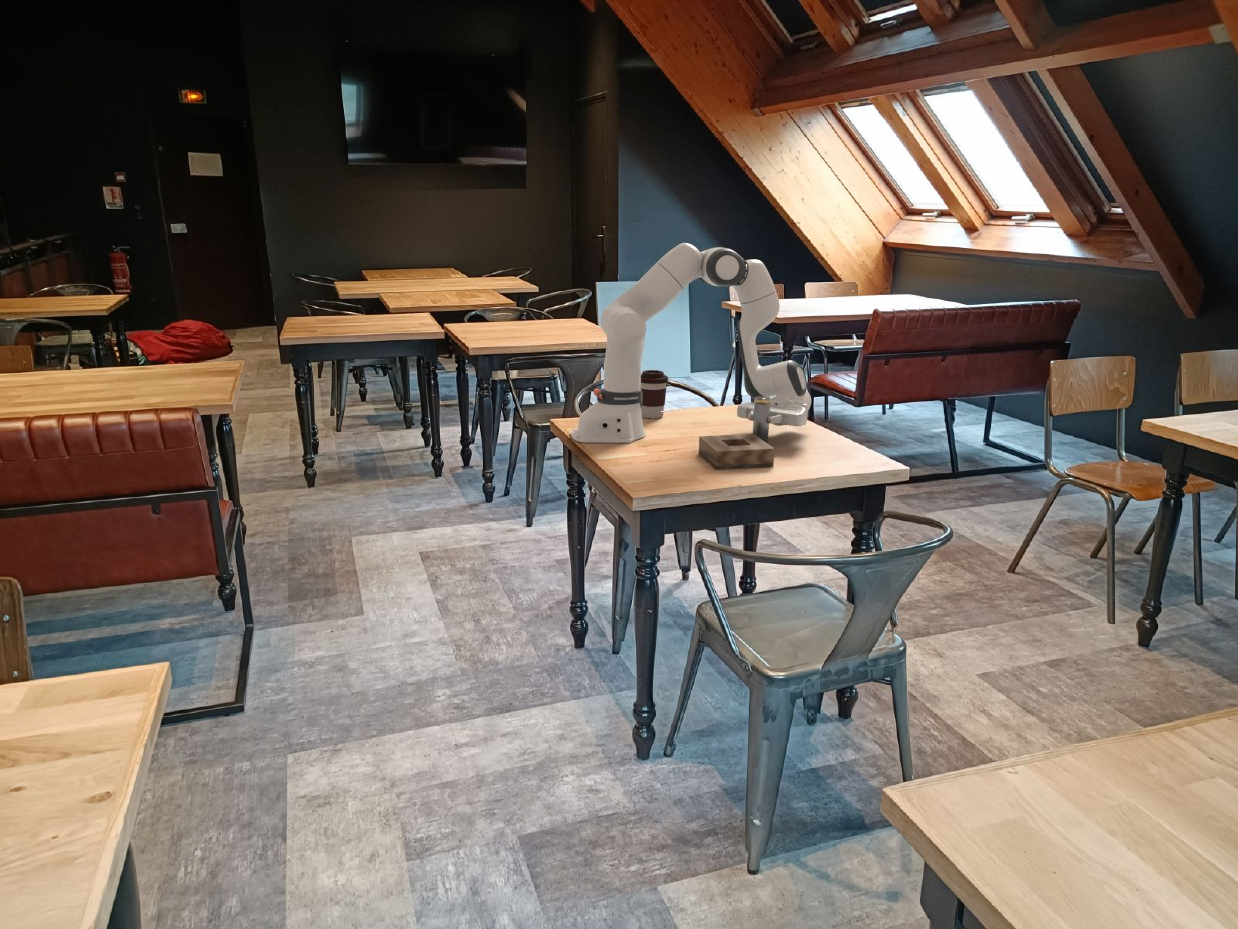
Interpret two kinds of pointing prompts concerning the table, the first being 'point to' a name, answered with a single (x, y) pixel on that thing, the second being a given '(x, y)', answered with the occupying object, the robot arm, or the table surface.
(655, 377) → the coffee cup
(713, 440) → the post block
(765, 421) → the steel rod
